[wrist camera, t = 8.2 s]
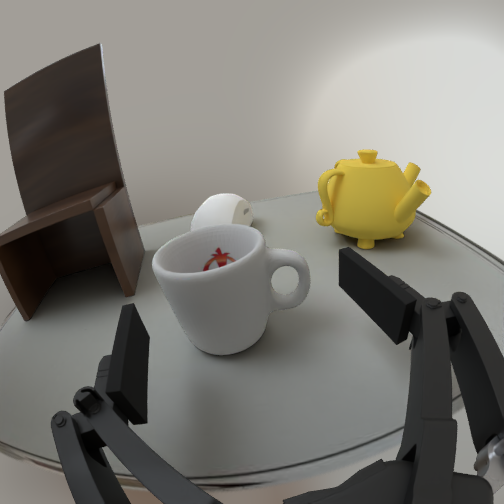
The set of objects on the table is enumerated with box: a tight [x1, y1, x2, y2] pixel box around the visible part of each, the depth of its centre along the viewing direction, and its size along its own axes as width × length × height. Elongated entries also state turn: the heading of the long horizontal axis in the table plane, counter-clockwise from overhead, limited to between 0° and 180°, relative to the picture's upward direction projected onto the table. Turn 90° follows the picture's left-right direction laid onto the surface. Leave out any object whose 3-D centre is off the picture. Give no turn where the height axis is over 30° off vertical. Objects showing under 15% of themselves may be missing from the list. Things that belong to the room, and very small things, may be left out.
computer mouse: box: [191, 194, 253, 231], centre depth 40 cm, size 6×13×6 cm, turn 166°
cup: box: [152, 224, 310, 355], centre depth 20 cm, size 11×8×8 cm
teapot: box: [316, 150, 431, 249], centre depth 32 cm, size 14×14×11 cm
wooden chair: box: [0, 44, 145, 321], centre depth 26 cm, size 13×18×34 cm
